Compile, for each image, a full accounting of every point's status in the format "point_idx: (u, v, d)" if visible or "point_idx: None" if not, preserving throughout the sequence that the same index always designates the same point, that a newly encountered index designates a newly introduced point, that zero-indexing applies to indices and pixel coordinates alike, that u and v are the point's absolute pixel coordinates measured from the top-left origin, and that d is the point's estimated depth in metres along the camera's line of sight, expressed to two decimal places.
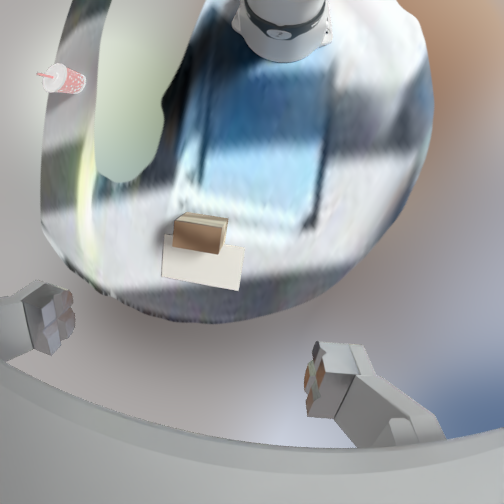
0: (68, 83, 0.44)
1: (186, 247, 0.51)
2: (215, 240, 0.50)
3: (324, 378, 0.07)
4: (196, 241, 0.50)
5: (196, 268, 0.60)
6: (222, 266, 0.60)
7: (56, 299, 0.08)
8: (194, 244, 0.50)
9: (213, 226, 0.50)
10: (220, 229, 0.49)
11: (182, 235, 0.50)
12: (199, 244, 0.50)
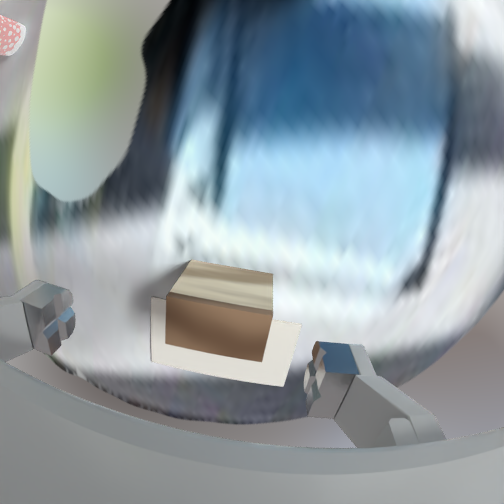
0: None
1: (195, 347, 0.23)
2: (257, 337, 0.23)
3: (324, 378, 0.07)
4: (216, 337, 0.23)
5: (211, 354, 0.33)
6: None
7: (56, 299, 0.08)
8: (212, 343, 0.23)
9: (253, 309, 0.23)
10: (270, 317, 0.22)
11: (186, 325, 0.23)
12: (222, 343, 0.23)
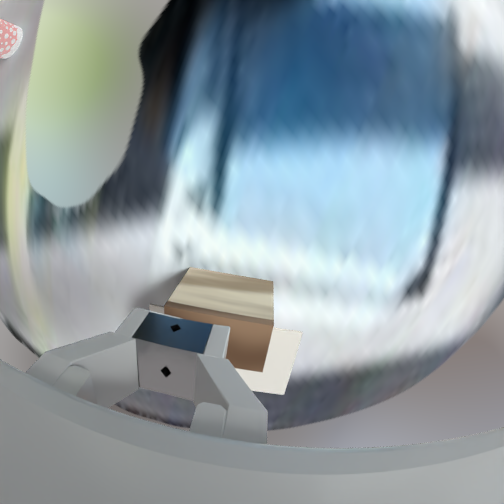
0: None
1: None
2: (258, 347, 0.22)
3: (167, 353, 0.07)
4: None
5: None
6: None
7: (172, 330, 0.08)
8: None
9: (253, 318, 0.22)
10: (270, 327, 0.21)
11: None
12: None
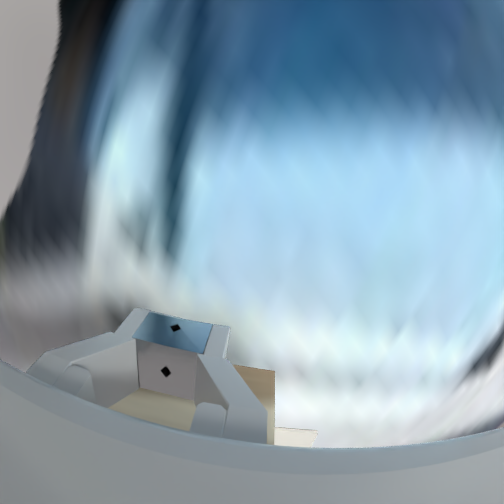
0: None
1: None
2: None
3: (167, 353, 0.07)
4: None
5: None
6: None
7: (172, 330, 0.08)
8: None
9: None
10: None
11: None
12: None
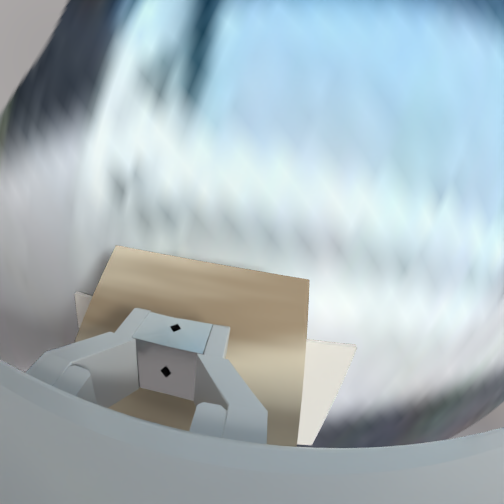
0: None
1: None
2: None
3: (167, 353, 0.07)
4: None
5: None
6: None
7: (172, 330, 0.08)
8: None
9: None
10: None
11: None
12: None
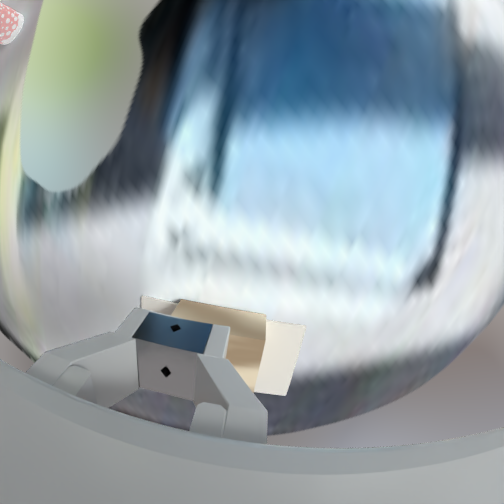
0: None
1: None
2: None
3: (167, 353, 0.07)
4: None
5: None
6: None
7: (172, 330, 0.08)
8: None
9: None
10: None
11: None
12: None
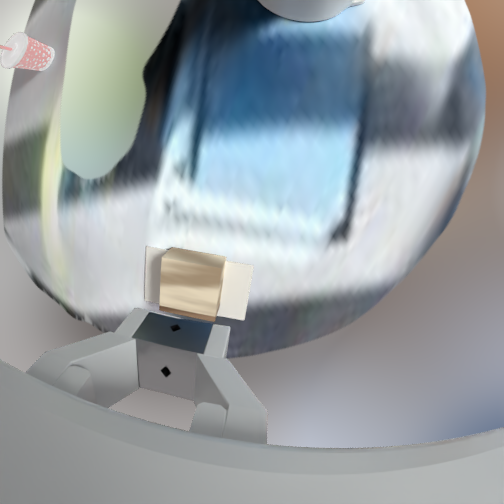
0: (29, 56, 0.29)
1: None
2: None
3: (167, 353, 0.07)
4: None
5: None
6: (223, 289, 0.45)
7: (172, 330, 0.08)
8: None
9: (204, 316, 0.41)
10: (213, 320, 0.41)
11: None
12: None
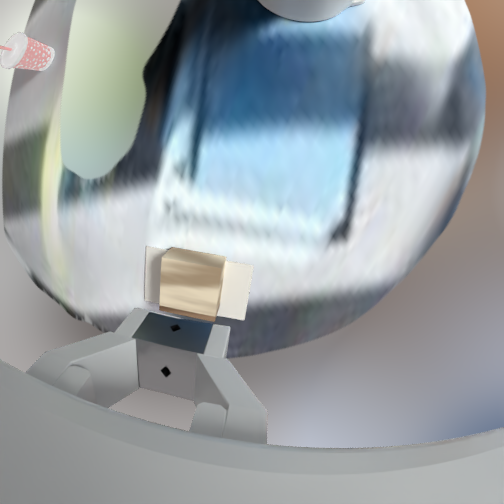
0: (29, 56, 0.29)
1: None
2: None
3: (167, 352, 0.07)
4: None
5: None
6: (223, 289, 0.45)
7: (172, 330, 0.08)
8: None
9: (204, 316, 0.41)
10: (213, 320, 0.41)
11: None
12: None
